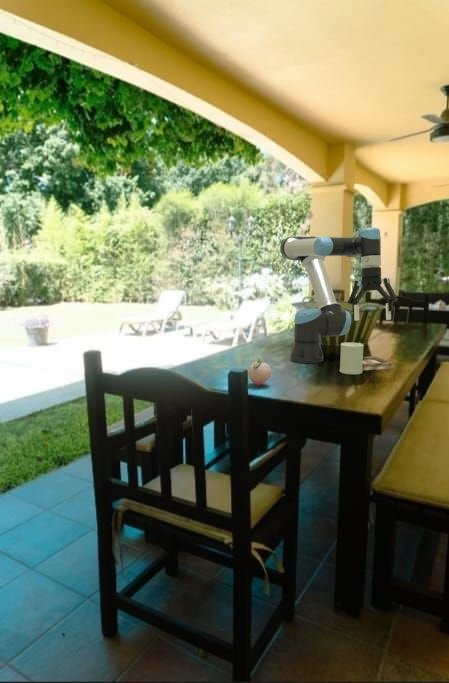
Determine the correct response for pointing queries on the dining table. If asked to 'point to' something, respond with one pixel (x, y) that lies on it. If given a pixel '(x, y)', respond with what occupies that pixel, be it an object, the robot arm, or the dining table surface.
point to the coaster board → (375, 363)
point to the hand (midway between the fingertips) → (372, 320)
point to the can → (351, 358)
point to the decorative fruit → (259, 372)
